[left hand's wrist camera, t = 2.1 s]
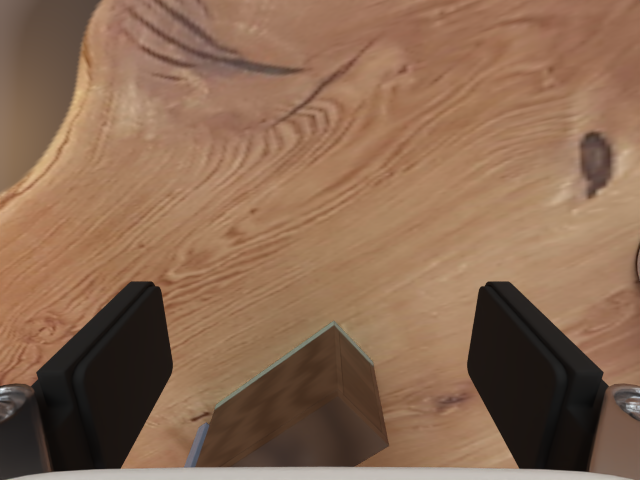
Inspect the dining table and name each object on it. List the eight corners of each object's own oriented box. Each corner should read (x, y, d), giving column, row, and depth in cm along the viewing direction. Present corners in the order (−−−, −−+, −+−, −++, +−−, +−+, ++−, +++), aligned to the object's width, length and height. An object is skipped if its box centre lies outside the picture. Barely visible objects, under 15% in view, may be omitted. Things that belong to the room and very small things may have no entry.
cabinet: (256, 438, 45) (238, 535, 35) (216, 404, 43) (184, 496, 33) (372, 361, 41) (389, 446, 31) (333, 320, 39) (338, 395, 29)
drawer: (196, 478, 46) (168, 562, 37) (162, 452, 44) (126, 534, 36) (339, 384, 41) (343, 456, 33) (306, 351, 39) (302, 418, 31)
